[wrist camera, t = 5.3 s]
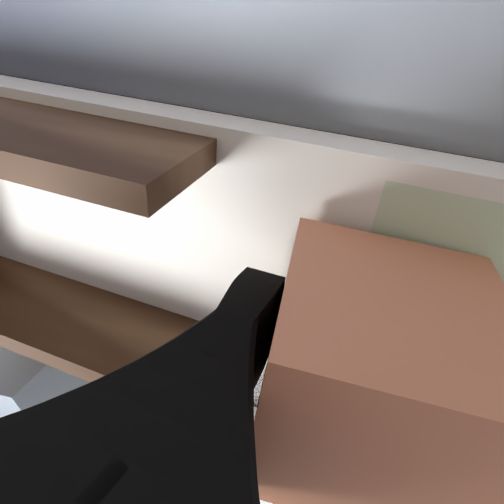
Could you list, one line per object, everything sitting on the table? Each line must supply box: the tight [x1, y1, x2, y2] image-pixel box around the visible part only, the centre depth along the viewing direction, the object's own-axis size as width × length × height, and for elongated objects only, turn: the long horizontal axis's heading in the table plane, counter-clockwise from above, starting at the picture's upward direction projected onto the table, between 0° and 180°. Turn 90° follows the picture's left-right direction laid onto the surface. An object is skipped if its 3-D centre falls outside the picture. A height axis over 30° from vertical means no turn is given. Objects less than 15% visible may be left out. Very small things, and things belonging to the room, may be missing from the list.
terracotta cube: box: [254, 217, 504, 504], centre depth 8 cm, size 4×4×4 cm
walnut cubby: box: [0, 97, 217, 382], centre depth 12 cm, size 7×11×3 cm
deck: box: [0, 75, 504, 418], centre depth 14 cm, size 14×20×1 cm
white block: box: [0, 346, 90, 418], centre depth 16 cm, size 4×4×4 cm
